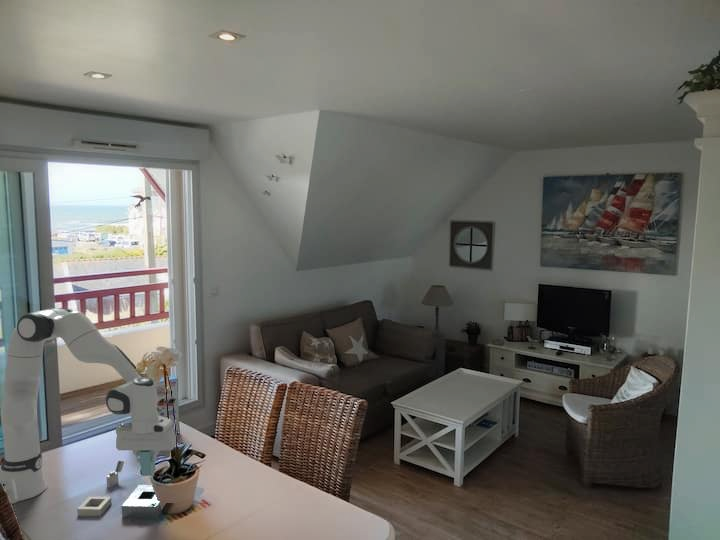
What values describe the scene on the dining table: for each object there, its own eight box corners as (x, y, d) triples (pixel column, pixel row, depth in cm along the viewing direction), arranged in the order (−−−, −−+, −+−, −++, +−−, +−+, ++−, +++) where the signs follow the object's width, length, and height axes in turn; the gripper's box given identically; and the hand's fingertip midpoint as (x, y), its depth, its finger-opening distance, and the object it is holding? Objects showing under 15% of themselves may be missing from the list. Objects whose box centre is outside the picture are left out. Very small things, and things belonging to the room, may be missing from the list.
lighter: (109, 487, 201) (109, 468, 200) (106, 486, 202) (105, 467, 201) (125, 479, 207) (124, 460, 206) (121, 478, 208) (120, 459, 207)
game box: (177, 429, 254) (175, 375, 251) (180, 433, 250) (178, 378, 246) (131, 439, 243) (128, 382, 240) (133, 443, 238) (131, 385, 235)
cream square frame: (77, 515, 183) (77, 508, 182) (89, 502, 191) (89, 496, 190) (100, 516, 183) (100, 509, 182) (111, 503, 191) (111, 496, 190)
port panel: (122, 518, 182) (121, 504, 181) (139, 496, 195) (138, 483, 195) (156, 518, 181) (156, 505, 181) (171, 496, 195) (171, 484, 195)
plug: (141, 475, 186) (138, 450, 184) (145, 470, 189) (142, 444, 188) (151, 475, 186) (148, 449, 184) (155, 470, 190) (152, 444, 188)
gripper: (111, 427, 182) (113, 465, 184) (170, 427, 182) (172, 465, 184) (119, 420, 188) (121, 456, 190) (176, 420, 188) (178, 456, 190)
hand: (147, 461), depth 187 cm, fingers closed on plug, 4 cm apart
